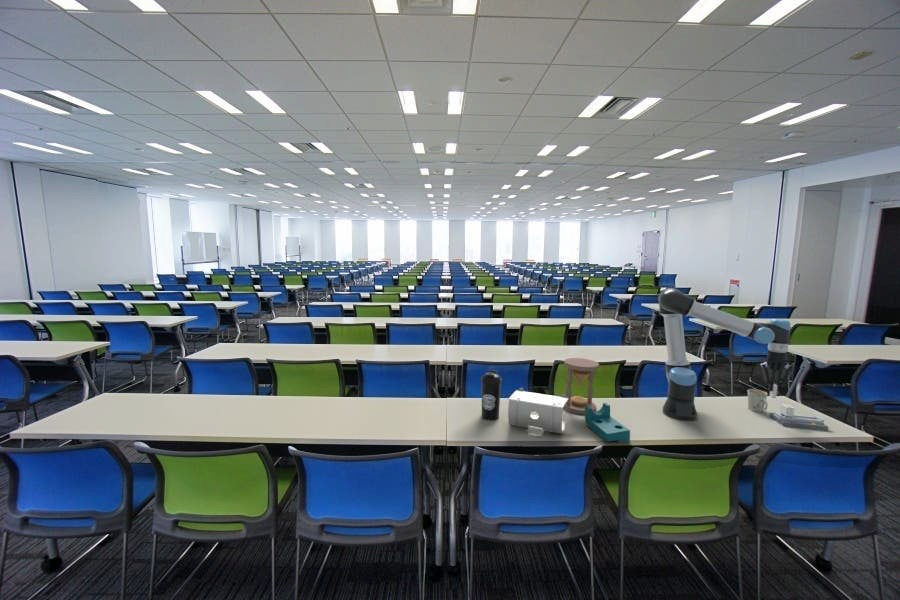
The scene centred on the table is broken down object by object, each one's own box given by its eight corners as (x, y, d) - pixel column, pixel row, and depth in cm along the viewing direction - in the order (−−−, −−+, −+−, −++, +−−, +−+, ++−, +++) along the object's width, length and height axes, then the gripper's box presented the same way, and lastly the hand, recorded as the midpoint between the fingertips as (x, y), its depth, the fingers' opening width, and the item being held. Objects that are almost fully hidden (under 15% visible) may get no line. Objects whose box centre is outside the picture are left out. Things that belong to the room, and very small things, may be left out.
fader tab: (785, 419, 184) (786, 406, 183) (779, 415, 188) (780, 403, 188) (793, 419, 183) (794, 407, 182) (786, 415, 188) (788, 403, 187)
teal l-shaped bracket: (585, 426, 179) (584, 405, 177) (606, 423, 181) (605, 402, 179) (607, 444, 161) (607, 422, 160) (629, 441, 163) (629, 418, 162)
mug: (758, 407, 205) (760, 389, 204) (775, 416, 192) (777, 398, 191) (741, 406, 206) (743, 388, 204) (758, 415, 193) (760, 397, 192)
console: (782, 425, 182) (783, 417, 181) (769, 416, 192) (770, 409, 192) (827, 430, 177) (828, 422, 177) (811, 420, 188) (812, 413, 187)
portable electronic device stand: (505, 431, 170) (506, 399, 168) (515, 412, 192) (516, 383, 190) (563, 443, 161) (565, 408, 159) (567, 421, 183) (569, 390, 181)
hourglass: (587, 401, 208) (590, 357, 206) (602, 414, 191) (605, 367, 188) (556, 401, 207) (559, 357, 205) (568, 414, 190) (571, 367, 187)
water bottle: (477, 419, 183) (478, 373, 180) (483, 411, 192) (484, 368, 190) (497, 422, 179) (499, 376, 177) (502, 414, 189) (504, 370, 186)
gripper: (766, 351, 181) (761, 398, 184) (798, 353, 178) (793, 401, 181) (757, 348, 189) (753, 393, 191) (788, 350, 186) (783, 395, 188)
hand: (772, 397), depth 186 cm, fingers closed
